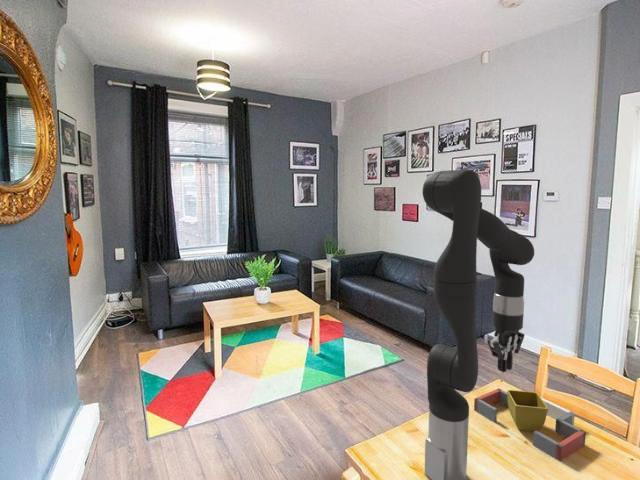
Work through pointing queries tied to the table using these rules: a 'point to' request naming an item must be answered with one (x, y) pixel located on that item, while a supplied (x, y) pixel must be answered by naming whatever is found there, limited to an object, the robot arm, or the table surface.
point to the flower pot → (527, 409)
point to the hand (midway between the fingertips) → (504, 369)
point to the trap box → (544, 443)
